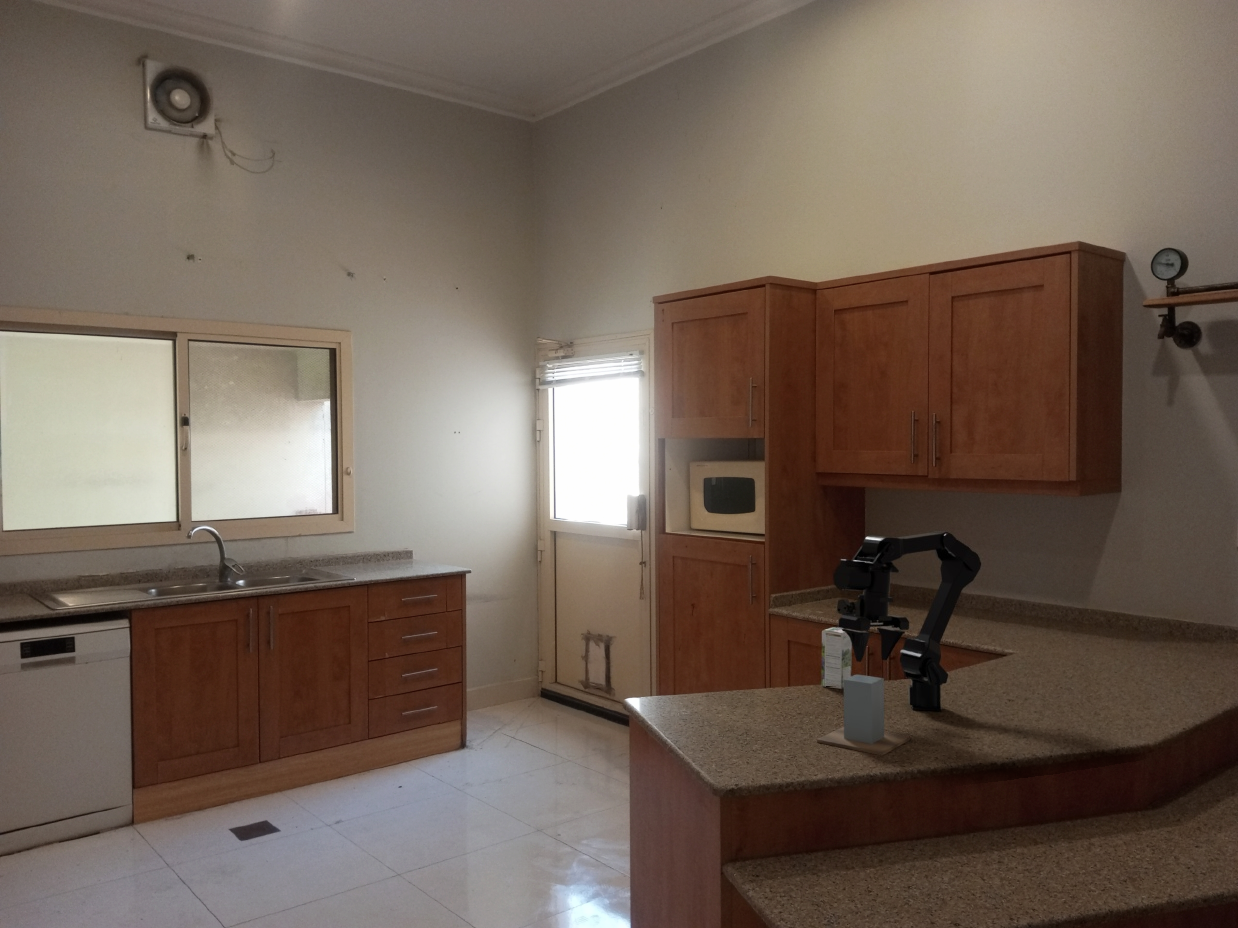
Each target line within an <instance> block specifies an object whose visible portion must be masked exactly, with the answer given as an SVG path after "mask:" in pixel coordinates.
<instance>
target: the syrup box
mask: <svg viewBox="0 0 1238 928" xmlns="http://www.w3.org/2000/svg"><path fill="white" fill-rule="evenodd" d="M842 629H843V628H840V627H829V628H826V629H823V630H822V631H821V680H820V681H821V685H820V686H821V687H825V688H827V687H826V686H836V687H830V688H832V689H833V688H834V689H840V690H844V679H846V678H849V677H851V676H852V660H853V659H852V649H853V646H852V643H851V640H850V637H849V636H848V635H847V633H846V632H844V631H842Z"/></svg>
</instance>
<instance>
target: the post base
mask: <svg viewBox="0 0 1238 928" xmlns="http://www.w3.org/2000/svg"><path fill="white" fill-rule="evenodd" d="M911 740H912V736H911V735H906V734H900V733H896V732H891V731H886V730H884V737H883V738H882V739H880V740H878V741H876V742H874V743H873V744H870V743H865V742H860V741H855V740H849V739H844V726H842V727H840V728H838V729H836V730H834V731H831V732H829V733H828V734H825V735H823V736H821V737H819V738H817V739H816V743H820V744H824V745H829V746H832V747H833V746H834V747H839V748H844V749H848V750H854V751H859V752H864V753H869V754H873V755H879V756H884V755H886V754H888V753H889V752H891V751H894V749H896V748H898V747H899V746H902V745H903V744H905V743H907V742H909V741H911Z"/></svg>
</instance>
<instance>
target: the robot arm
mask: <svg viewBox="0 0 1238 928" xmlns="http://www.w3.org/2000/svg"><path fill="white" fill-rule="evenodd" d="M928 551H934V554H935V557H936V558H937V559H938V560H939V561H940V562H941V564H940V567H939V569H940V570H939V571H940V575H941V576H940V577H941V581H940V584H939V586H938V588H937V591H936V594H935V596H934V598H933V600H932V603H931V605H930V608H929V610H928V611H927V614H926V616H925V619H924V621H923V624H922V626H921V628H920V631H919V633H918V634H917V636H915V637H914V638H912V637H907V638H906V639H905V641H904V644H903V647H902V649H900V651H899V654H900V657H899V663H900V667H901V668H902V671H903V674H904V676H905V677H904V678H906V679H909V680H910V684H909V685H908V705H910V706H911V710H919V711H933V712H934V711H936V712H938V711H939V712H942V711H943V707H942V705H941V704H942V703H941V702H942V701H941V700H942V699H941V693H942V692H941V688H942V687H941V686H942V685H944V684H947V682H948V677H949V673H948V672H947V671H946V670H945V668H943V666H941V664H940V662H941V658H942V651H941V647H940V646H941V644H940V643H941V641H942V639H943V636H944V634H945V631H946V630H947V627H948V625H949V622H950V620H951V618H952V614H953V613H954V611H955V608H956V606H957V603H958V601H959V598H960V596H961V594H962V591H963V590H964V589H965V588H966V587H967V586H968V585H970V584H971V583H972V582H974V581H975V579H976V577H977V576H978V573H979V572H980V570H981V569H982V568H981V567H982V562H981V559H980V557H979V554H978V553H977V552H976V551H973V550H972V549H971V547H969V546H967V545H966V544H965V543H963V542H962V541H960V540H959V539H957V538H956V537H955V535H954V534H952V533H951V532H949V531H940V530H933V531H931V532H927V533H925V532H924V533H919V534H913V535H907V536H906V535H905V536H904V535H903V536H898V537H891V536H880V535H868V536H866V537H864V540H863V542H862V545H861V546H860V548H859V549H858V550H857V552H856V553H855V555H854V556H853V557H852V559H844V558H843V559H842V558H841V559H840V561H839V564H838V565H837V567H836V568H835V570H834V572H833V573H832V580H833V584H834V586H835V587H836V588H837V589H838V590H839V591H854V592H855V591H857V592H862V591H863V592H862V594H858V596H857V601H850V600H848V599H847V598H842V599H838V600H837V604H836V613H838V614H839V615H841V616H840V617H839V618H838V621H837V622H838V623H837V628H843V629H842V631H844V632H846V633H847V635H848V636H849V637H850V640H851V643H852V649H853V652H854V653H853V655H854V657H855V661H856V662H859V663H861V662H862V660H863V658H864V656H865V653H866V649H867V647H868V642H869V639H870V636H871V632H870V631H869V630H870V628H872V627H873V628H874V627H876V629H877V631H878V633H879V634H880V639H881V640H880V644H881V647H880V653H881V654H880V655H881V657H880V658H881V660H882V661H887V660H888V659H889V657H890V655H891V654H892V652H893V650H894V648H895V647H896V645H897V644H898V642H899V640H900V639H901V638H902V636H903V635H904V634H905V633H906V631H907V630H910V621H909V619H908V618H907V617H906V616H901V615H894V614H889V608H890V607H889V606H890V604H889V603H894V597H891V596H890V591H891V577H892V574H893V573H895V574H898V573H899V572H900V570H899V569H898V568H897V567H896V566H895V564H894V563H893V562H895V561H897V560H900V559H901V558H902V557H904V556H905V555H908V554H909V555H910V554H915V553H922V552H928Z"/></svg>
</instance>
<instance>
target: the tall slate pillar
mask: <svg viewBox="0 0 1238 928" xmlns="http://www.w3.org/2000/svg"><path fill="white" fill-rule="evenodd" d="M884 693H885V679H884V678H883V677H877V676H869V675H863V674H854V675H851V677H849V678H846V679H844V688H843V727H844V739H849V740H855V741H860V742H865V743H870V744H873V743H874V742H876V741H878V740H880V739H882V738H883V737H884V731H885V694H884Z"/></svg>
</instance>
